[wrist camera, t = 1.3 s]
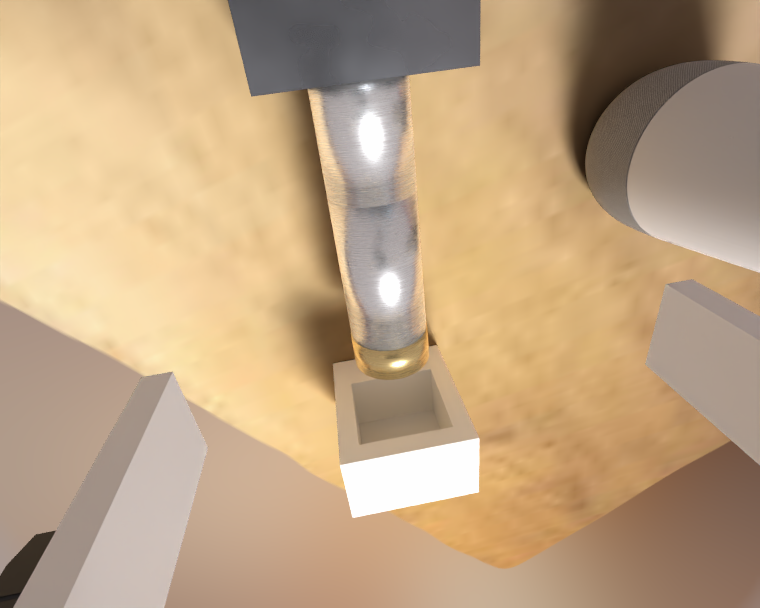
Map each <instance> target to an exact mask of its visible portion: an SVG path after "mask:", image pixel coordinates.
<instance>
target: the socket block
mask: <svg viewBox="0 0 760 608" xmlns="http://www.w3.org/2000/svg"><path fill="white" fill-rule="evenodd" d="M333 373H334V387H335V401H336V415H337V429H338V444H339V458H340V467H341V471H342V475H343V480H344V484H345V488H346V492H347V496H348V500H349V504H350V508H351V512H352V516H353V518H354V517H359V516H364V515H369V514H374V513H378V512H383V511H388V510H393V509H398V508H403V507H408V506H413V505H418V504H423V503H428V502H432V501H437V500H442V499H447V498H452V497H457V496H462V495H467V494H472V493H477V492H479V437H478V434H477V432H476V430H475V428H474V425H473V423H472V421H471V419H470V417H469V414H468V412H467V410H466V408H465V406H464V403H463V401H462V399H461V397H460V394H459V392H458V390H457V388H456V386H455V383H454V381H453V379H452V377H451V374H450V372H449V370H448V368H447V366H446V363H445V361H444V359H443V357H442V354H441V352H440V350H439V348H438V346H437V345H433V346H429V358H428V361H427V363H426V364H425V366H424V367H423V368H422V369H421V370H419V371H418V372H416V373H415V374H413V375H410V376H408V377H405V378H401V379H395V380H381V379H376V378H372V377H369V376H367V375H365V374H364V373H362V372H361V371H360V370H359V368H358V367H357V365H356V361H355V360H350V361H344V362H338V363H333Z"/></svg>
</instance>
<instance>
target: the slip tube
mask: <svg viewBox="0 0 760 608" xmlns="http://www.w3.org/2000/svg"><path fill="white" fill-rule="evenodd" d="M308 94H309V100H310V106H311V111H312V117H313V122H314V128H315V133H316V139H317V144H318V150H319V156H320V161H321V167H322V172H323V178H324V183H325V189H326V195H327V200H328V206H329V211H330V217H331V222H332V228H333V233H334V239H335V245H336V250H337V256H338V261H339V267H340V272H341V278H342V284H343V289H344V295H345V300H346V306H347V311H348V317H349V322H350V328H351V338H352V344H353V349H354V355H355V361H356V365H357V367H358V368H359V370H360V371H361V372H362V373H364V374H365V375H367V376H369V377H372V378H376V379H381V380H395V379H401V378H405V377H408V376H410V375H413V374H415V373H416V372H418V371H419V370H421V369H422V368H423V367H424V366H425V364H426V363H427V361H428V358H429V345H428V331H427V323H426V314H425V300H424V285H423V271H422V256H421V241H420V227H419V212H418V198H417V183H416V169H415V154H414V140H413V125H412V111H411V96H410V82H409V75H406V76H399V77H391V78H384V79H376V80H369V81H362V82H354V83H347V84H339V85H332V86H325V87H317V88H310V89H308Z"/></svg>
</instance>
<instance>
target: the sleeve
mask: <svg viewBox="0 0 760 608" xmlns="http://www.w3.org/2000/svg"><path fill="white" fill-rule="evenodd" d="M228 3H229V7H230V11H231V15H232V19H233V23H234V27H235V32H236V36H237V40H238V44H239V48H240V52H241V56H242V60H243V64H244V69H245V73H246V77H247V81H248V85H249V89H250V93H251V96H258V95H266V94H273V93H280V92H288V91H295V90H303V89H310V88H317V87H325V86H332V85H339V84H347V83H354V82H362V81H369V80H376V79H384V78H391V77H399V76H406V75H413V74H421V73H428V72H435V71H443V70H450V69H458V68H465V67H472V66H480V0H228Z"/></svg>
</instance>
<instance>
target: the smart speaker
mask: <svg viewBox="0 0 760 608" xmlns="http://www.w3.org/2000/svg"><path fill="white" fill-rule="evenodd" d="M585 169H586V177H587V182H588V185H589V188H590V190H591V192H592V194H593V196H594V198H595V199H596V201H597V202H598V203H599V204H600V206H601V207H602V208H603V209H604V210H605V211H606V212H608V213H609V214H610V215H611V216H612V217H614V218H615V219H616V220H618V221H620V222H621V223H623V224H625V225H627V226H629V227H631V228H633V229H635V230H637V231H640V232H642V233H645V234H647V235H650V236H652V237H655V238H657V239H660V240H663V241H666V242H669V243H672V244H675V245H678V246H681V247H684V248H687V249H690V250H693V251H696V252H699V253H702V254H705V255H708V256H711V257H714V258H717V259H720V260H723V261H726V262H729V263H732V264H735V265H738V266H741V267H744V268H747V269H750V270H753V271H756V272H759V273H760V64H756V63H747V62H736V61H721V60H703V61H691V62H685V63H680V64H676V65H672V66H668V67H665V68H662V69H660V70H657V71H655V72H652V73H650V74H648V75H646V76H644V77H642V78H641V79H639V80H637V81H636V82H634V83H633V84H631V85H630V86H629V87H627V88H626V89H625V90H624V91H622V92H621V93H620V94H619V95H618V96H617V97H616V98H615V99H614V100H613V101H612V102H611V103H610V104H609V106H608V107H607V108H606V109H605V111H604V112H603V114H602V115H601V116H600V118H599V120H598V121H597V123H596V125H595V127H594V129H593V131H592V134H591V136H590V139H589V143H588V146H587V151H586V159H585Z"/></svg>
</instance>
